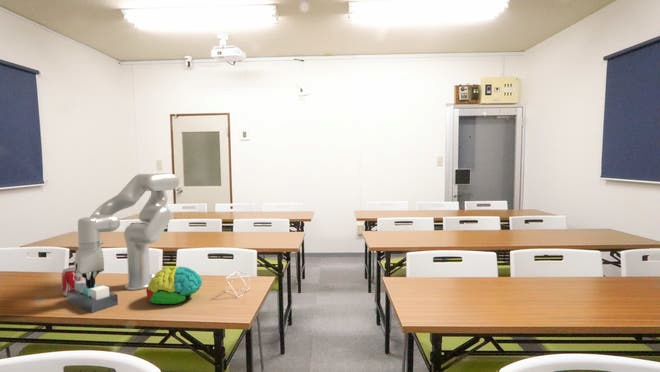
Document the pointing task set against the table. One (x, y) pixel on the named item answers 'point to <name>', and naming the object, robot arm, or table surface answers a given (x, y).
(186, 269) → the brain model
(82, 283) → the grey key
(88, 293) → the teal key
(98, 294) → the ivory key
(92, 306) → the console
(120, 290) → the table surface
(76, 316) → the table surface
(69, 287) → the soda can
